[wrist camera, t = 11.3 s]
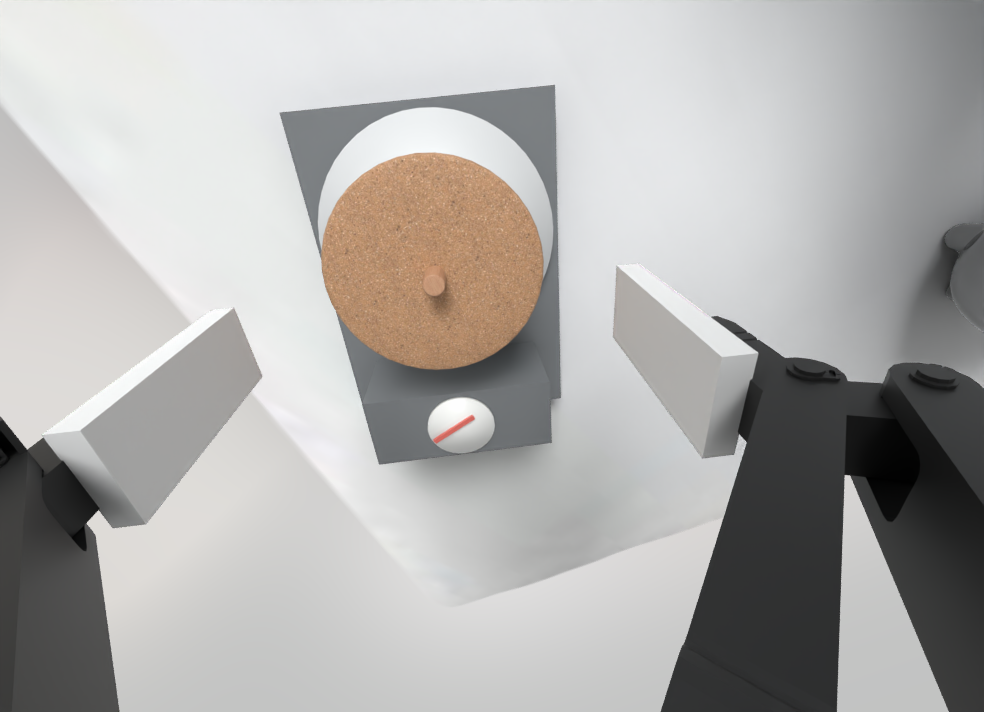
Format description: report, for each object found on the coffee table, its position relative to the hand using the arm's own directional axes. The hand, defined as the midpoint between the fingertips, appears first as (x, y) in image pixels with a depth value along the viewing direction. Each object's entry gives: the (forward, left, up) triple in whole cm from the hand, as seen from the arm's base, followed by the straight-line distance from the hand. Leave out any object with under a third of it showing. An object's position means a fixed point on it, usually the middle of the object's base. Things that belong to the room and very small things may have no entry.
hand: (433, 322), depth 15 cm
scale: (0, +3, -18) cm, 18 cm away
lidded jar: (0, 0, -14) cm, 14 cm away
